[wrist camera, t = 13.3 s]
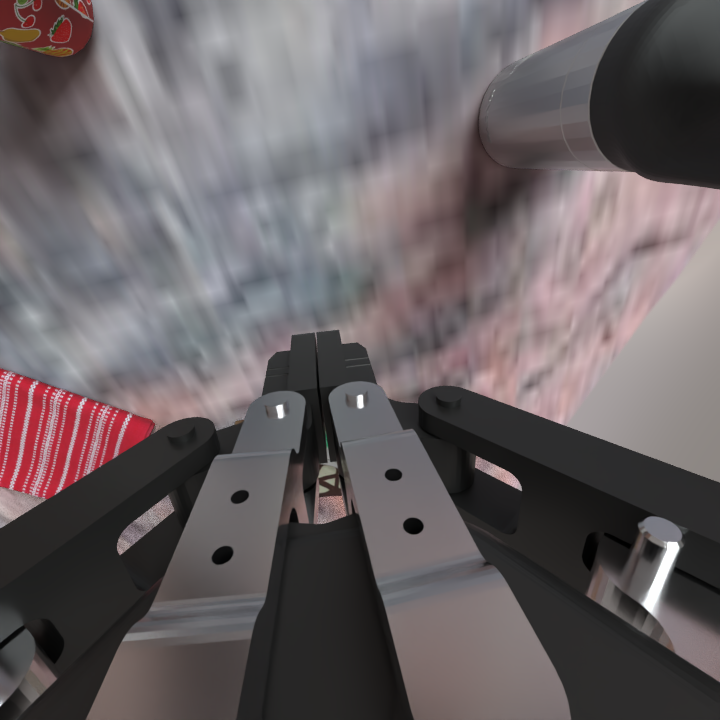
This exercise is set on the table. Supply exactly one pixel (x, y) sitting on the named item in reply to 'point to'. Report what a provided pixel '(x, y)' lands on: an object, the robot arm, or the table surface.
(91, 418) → the dish towel
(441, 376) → the table surface
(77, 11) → the smoothie
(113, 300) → the table surface
